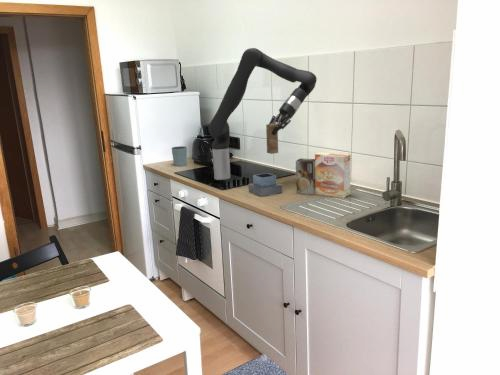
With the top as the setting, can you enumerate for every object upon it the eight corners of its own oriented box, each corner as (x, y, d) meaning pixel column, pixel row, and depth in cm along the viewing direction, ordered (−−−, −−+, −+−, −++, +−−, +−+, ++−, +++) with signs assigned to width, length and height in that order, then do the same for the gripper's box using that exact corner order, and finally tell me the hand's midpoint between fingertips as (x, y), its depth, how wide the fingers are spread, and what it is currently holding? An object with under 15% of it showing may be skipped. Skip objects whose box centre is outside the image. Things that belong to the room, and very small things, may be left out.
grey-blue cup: (175, 163, 291) (173, 146, 288) (189, 163, 290) (188, 145, 287) (171, 166, 281) (169, 148, 278) (186, 166, 280) (184, 148, 277)
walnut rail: (267, 152, 213) (266, 124, 209) (273, 151, 215) (273, 123, 211) (271, 153, 210) (270, 125, 206) (278, 152, 211) (277, 124, 208)
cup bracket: (248, 191, 212) (247, 175, 210) (269, 187, 218) (268, 171, 215) (260, 197, 202) (260, 179, 200) (282, 192, 207) (281, 175, 205)
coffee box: (318, 191, 206) (318, 159, 202) (314, 195, 201) (313, 161, 197) (300, 190, 211) (300, 158, 207) (295, 193, 205) (295, 160, 201)
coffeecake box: (314, 194, 202) (314, 153, 197) (321, 190, 208) (321, 151, 203) (344, 198, 193) (344, 156, 188) (350, 194, 199) (351, 153, 194)
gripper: (277, 101, 216) (258, 127, 213) (294, 102, 204) (273, 130, 201) (286, 111, 220) (267, 137, 217) (303, 112, 208) (283, 140, 205)
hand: (270, 133), depth 209 cm, fingers closed on walnut rail, 4 cm apart
